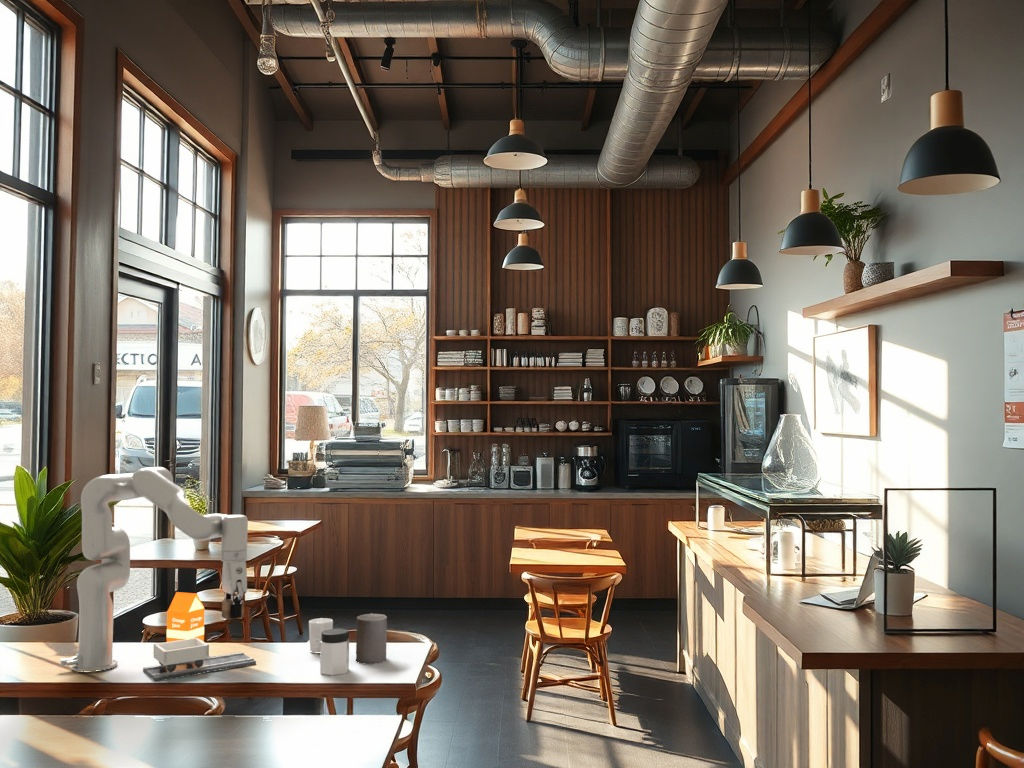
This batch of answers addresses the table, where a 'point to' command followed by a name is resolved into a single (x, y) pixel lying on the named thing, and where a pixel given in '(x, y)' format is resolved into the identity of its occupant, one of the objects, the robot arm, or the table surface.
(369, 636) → the pillar candle
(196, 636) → the orange juice
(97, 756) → the table surface
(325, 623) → the white cup
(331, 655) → the jar
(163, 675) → the track
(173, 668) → the cart
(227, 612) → the walnut block
